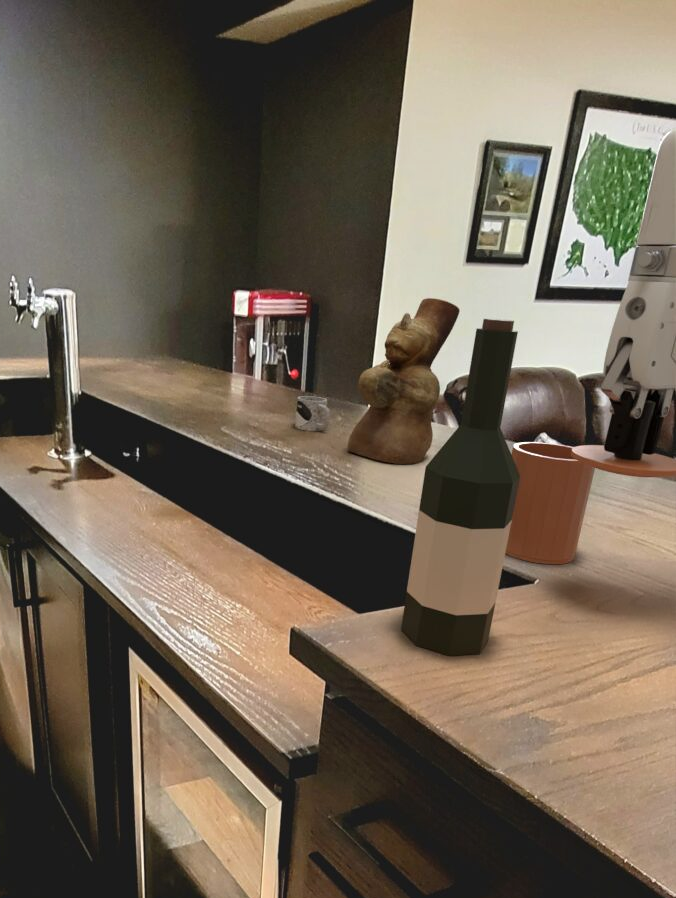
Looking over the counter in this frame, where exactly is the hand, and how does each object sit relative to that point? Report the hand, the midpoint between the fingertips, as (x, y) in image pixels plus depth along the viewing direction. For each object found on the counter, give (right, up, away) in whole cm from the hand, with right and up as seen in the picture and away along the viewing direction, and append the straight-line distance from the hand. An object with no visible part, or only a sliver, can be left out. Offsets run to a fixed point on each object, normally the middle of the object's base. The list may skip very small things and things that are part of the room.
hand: (629, 451), depth 76 cm
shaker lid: (0, -1, 0) cm, 1 cm away
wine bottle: (-21, -19, -5) cm, 29 cm away
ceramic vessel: (-8, +5, +69) cm, 70 cm away
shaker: (-2, -11, +20) cm, 23 cm away
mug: (-23, +12, +87) cm, 91 cm away
